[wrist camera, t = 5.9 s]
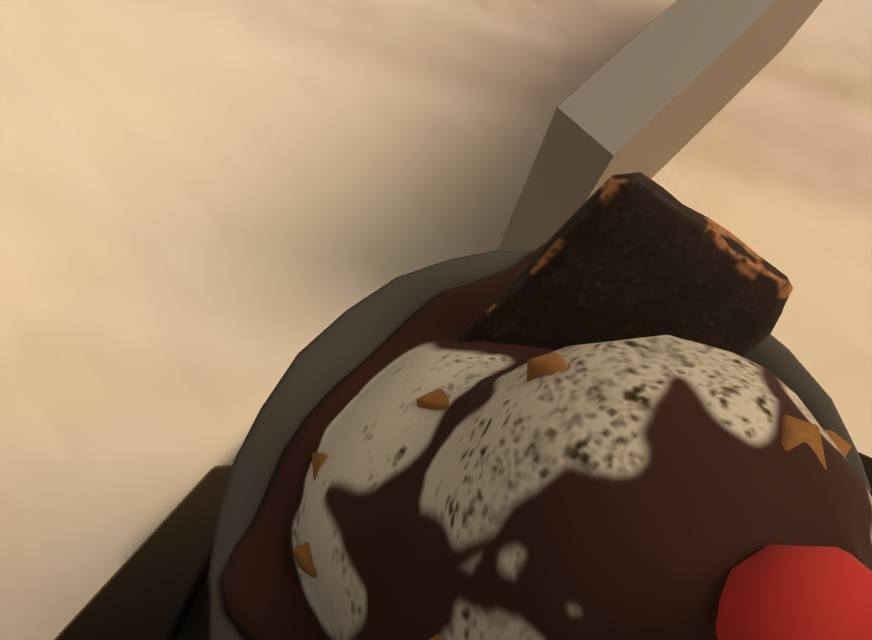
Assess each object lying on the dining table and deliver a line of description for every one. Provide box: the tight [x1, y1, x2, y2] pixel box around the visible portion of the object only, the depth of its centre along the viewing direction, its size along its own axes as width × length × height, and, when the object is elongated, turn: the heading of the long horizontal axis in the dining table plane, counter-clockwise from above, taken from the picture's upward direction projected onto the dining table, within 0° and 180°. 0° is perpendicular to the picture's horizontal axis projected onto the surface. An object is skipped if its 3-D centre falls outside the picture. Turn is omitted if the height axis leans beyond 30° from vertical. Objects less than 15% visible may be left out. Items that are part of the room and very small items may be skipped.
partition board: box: [498, 0, 822, 251], centre depth 21 cm, size 16×2×10 cm, turn 135°
